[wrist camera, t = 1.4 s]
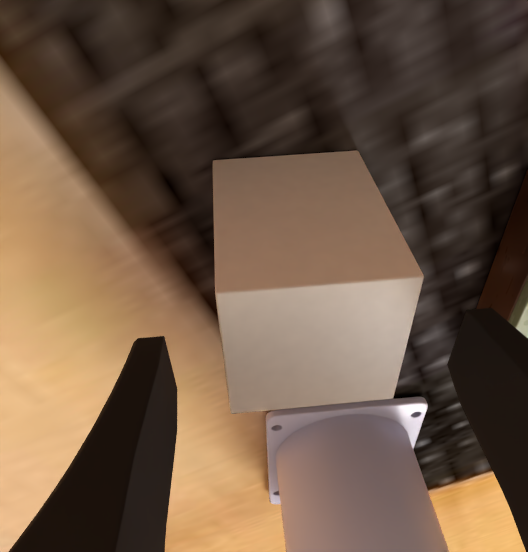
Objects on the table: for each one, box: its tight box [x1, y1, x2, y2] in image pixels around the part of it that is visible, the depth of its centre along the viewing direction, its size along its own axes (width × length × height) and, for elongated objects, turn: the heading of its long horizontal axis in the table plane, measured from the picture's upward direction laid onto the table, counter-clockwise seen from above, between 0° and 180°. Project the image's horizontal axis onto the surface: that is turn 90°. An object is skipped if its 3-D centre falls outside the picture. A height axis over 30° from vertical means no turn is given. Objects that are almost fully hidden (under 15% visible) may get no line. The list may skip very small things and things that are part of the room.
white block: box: [213, 151, 424, 414], centre depth 14 cm, size 4×4×6 cm
